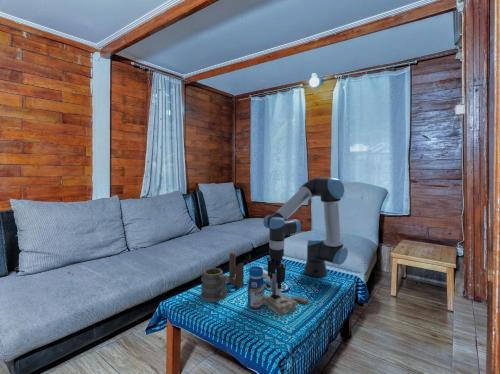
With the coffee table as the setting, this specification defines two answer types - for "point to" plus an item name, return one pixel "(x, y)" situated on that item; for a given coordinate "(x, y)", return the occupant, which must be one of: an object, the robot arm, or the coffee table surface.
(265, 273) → the bone shaped toy
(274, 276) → the peg
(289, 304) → the socket block
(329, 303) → the coffee table surface
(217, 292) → the tankard
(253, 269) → the beverage bottle
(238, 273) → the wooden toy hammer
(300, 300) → the walnut slat
